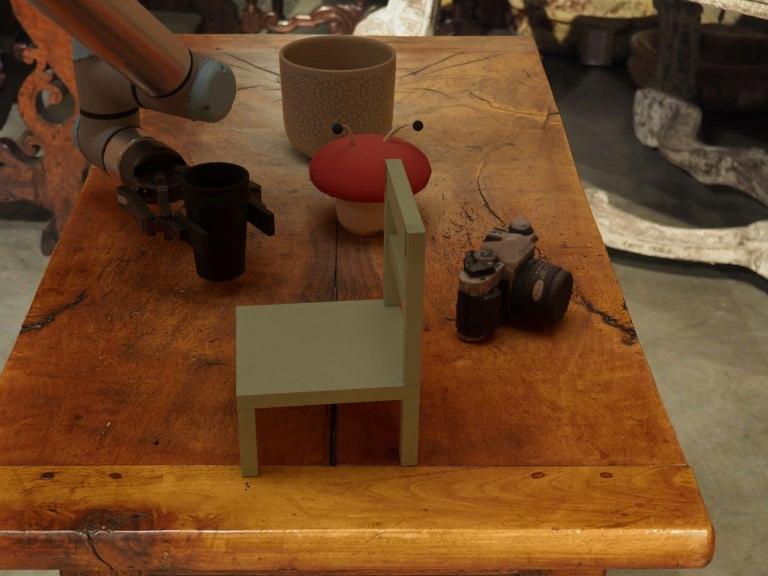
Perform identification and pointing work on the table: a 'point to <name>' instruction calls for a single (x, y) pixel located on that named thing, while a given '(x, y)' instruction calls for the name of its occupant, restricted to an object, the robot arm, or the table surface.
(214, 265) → the cup
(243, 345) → the chair
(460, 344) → the table surface
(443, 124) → the table surface
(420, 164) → the mushroom
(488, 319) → the camera
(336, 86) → the planter
